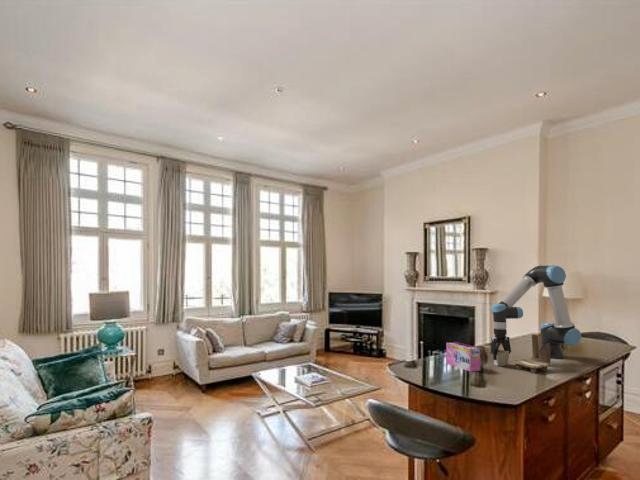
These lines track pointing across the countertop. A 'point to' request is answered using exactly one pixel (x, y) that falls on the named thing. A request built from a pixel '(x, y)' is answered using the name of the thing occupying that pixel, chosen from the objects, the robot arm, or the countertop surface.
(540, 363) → the plant stand
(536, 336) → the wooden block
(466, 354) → the gum box
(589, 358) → the countertop surface
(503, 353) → the flower pot
